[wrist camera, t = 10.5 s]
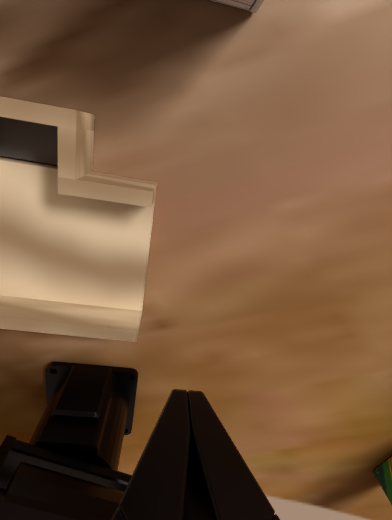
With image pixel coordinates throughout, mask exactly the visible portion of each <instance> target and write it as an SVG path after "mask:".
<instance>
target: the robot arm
mask: <svg viewBox="0 0 392 520" xmlns="http://www.w3.org/2000/svg"><path fill="white" fill-rule="evenodd" d="M52 368H54V369H56V370H54V369H52ZM129 375H133V376H132V377H131V376H129ZM137 380H138V372H137V370H135V369H131V368H119V367H108V366H97V365H86V364H74V363H63V362H51V363H50V364H49V365H48V367H47V369H46V388H47V407H46V409H45V411H44V413H43V415H42V417H41V419H40V421H39V424H38V426H37V428H36V430H35V432H34V434H33V436H32V438H31V440H30V442H29V444H28V443H25V442H22V441H19V440H16V438H15V437H12V436H9V435H7V436H6V438H5V439H4V441H3V443H2V445H1V446H0V520H280V519H279V517H278V516H277V515H276V514H275V515H274V513H275V511H274V509H273V508H272V506H271V504H270V503H269V501H268V499H267V498H266V496H265V494H264V493H263V491H262V489H261V488H260V486H259V484H258V483H257V481H256V479H255V478H254V476H253V475H252V473H251V471H250V470H249V468H248V466H247V465H246V463H245V461H244V460H243V458H242V456H241V455H240V453H239V451H238V450H237V448H236V446H235V445H234V443H233V441H232V440H231V438H230V436H229V435H228V433H227V432H226V430H225V428H224V427H223V425H222V423H221V422H220V420H219V418H218V417H217V415H216V413H215V412H214V410H213V408H212V407H211V405H210V403H209V402H208V400H207V398H206V397H205V395H204V394H203V392H201V391H192V390H189V391H188V392H187V391H186V390H179V389H173V390H172V391H171V394H170V396H169V398H168V400H167V402H166V404H165V406H164V408H163V411H162V413H161V415H160V417H159V419H158V421H157V423H156V426H155V428H154V430H153V432H152V434H151V436H150V438H149V441H148V443H147V445H146V447H145V449H144V451H143V453H142V456H141V458H140V460H139V462H138V464H137V466H136V468H135V470H134V473H133V475H129V474H126V473H123V472H119V471H117V470H118V465H119V459H120V453H121V448H122V442H123V437H124V435H128V434H130V433H131V429H132V422H133V414H134V405H135V397H136V389H137Z"/></svg>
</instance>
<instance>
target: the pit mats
mask: <svg viewBox="0 0 392 520" xmlns="http://www.w3.org/2000/svg"><path fill="white" fill-rule="evenodd" d="M0 156H4V157H10V158H17V159H23V160H29V161H35V162H42V163H48V164H54V165H58V127H57V126H52V125H46V124H40V123H34V122H29V121H23V120H17V119H11V118H6V117H0Z"/></svg>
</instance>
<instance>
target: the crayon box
mask: <svg viewBox="0 0 392 520" xmlns="http://www.w3.org/2000/svg"><path fill="white" fill-rule="evenodd" d="M373 473H374V475H375V477H376V478H377V480H378V482H379V484H380V485H381V487H382V489H383V491H384V492H385V494H386V496H387V497H388V499H389V501H390V503H391V504H392V456H391V457H390V458H389V459H388V460H386V461H385V462H384V463H383V464H382V465H380V466H379V467H378V468H376V469H375V470H374V471H373Z"/></svg>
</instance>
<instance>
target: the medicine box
mask: <svg viewBox="0 0 392 520" xmlns="http://www.w3.org/2000/svg"><path fill="white" fill-rule="evenodd" d="M211 1H215V2H218V3H222V4H226V5H230V6H233V7H237V8H241V9H244V10H248V11H250V12H252V13H256V12H257V10H258V9H259V7H260V6H261V4H262V3H263V1H264V0H211Z"/></svg>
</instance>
